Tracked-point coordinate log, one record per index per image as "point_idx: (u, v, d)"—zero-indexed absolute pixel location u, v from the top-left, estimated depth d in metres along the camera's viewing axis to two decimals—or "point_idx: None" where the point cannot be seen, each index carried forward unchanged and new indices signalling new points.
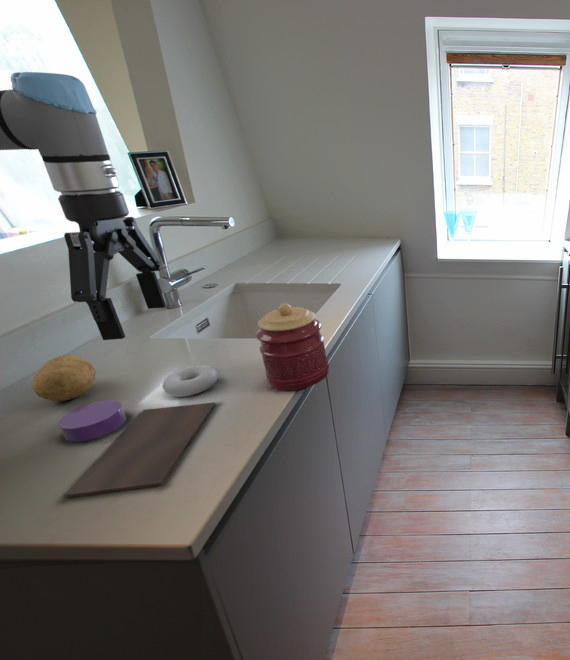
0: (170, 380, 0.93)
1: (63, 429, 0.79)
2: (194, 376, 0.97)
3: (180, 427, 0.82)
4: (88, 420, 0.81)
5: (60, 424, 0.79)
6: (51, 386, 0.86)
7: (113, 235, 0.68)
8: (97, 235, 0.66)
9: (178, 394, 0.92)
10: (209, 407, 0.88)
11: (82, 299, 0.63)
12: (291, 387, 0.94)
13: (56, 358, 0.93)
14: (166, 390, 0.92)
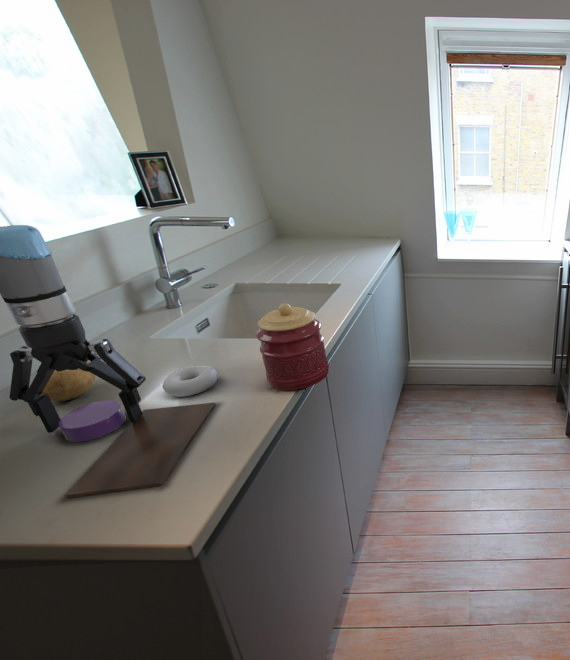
0: (170, 380, 0.93)
1: (63, 429, 0.79)
2: (194, 376, 0.97)
3: (180, 427, 0.82)
4: (88, 420, 0.81)
5: (60, 424, 0.79)
6: (51, 386, 0.86)
7: (45, 359, 0.75)
8: (33, 355, 0.76)
9: (178, 394, 0.92)
10: (209, 407, 0.88)
11: None
12: (291, 387, 0.94)
13: None
14: (166, 390, 0.92)
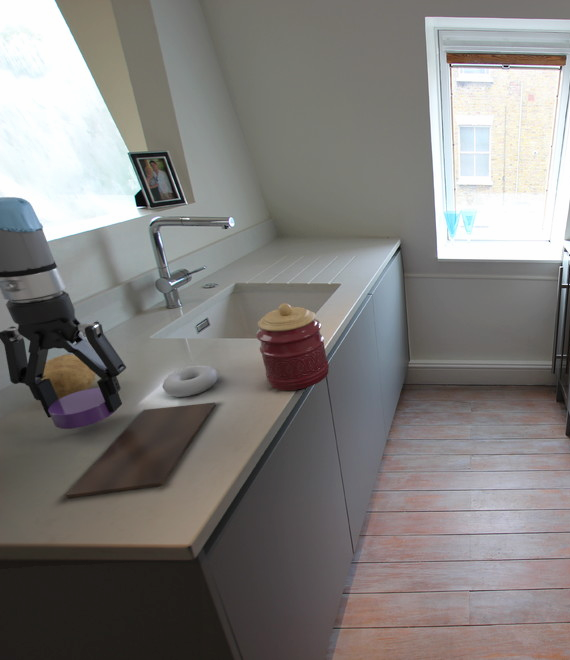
0: (170, 380, 0.93)
1: (53, 415, 0.77)
2: (194, 376, 0.97)
3: (180, 427, 0.82)
4: (78, 407, 0.79)
5: (50, 410, 0.78)
6: None
7: (32, 336, 0.73)
8: (21, 332, 0.74)
9: (178, 394, 0.92)
10: (209, 407, 0.88)
11: None
12: (291, 387, 0.94)
13: (56, 358, 0.93)
14: (166, 390, 0.92)
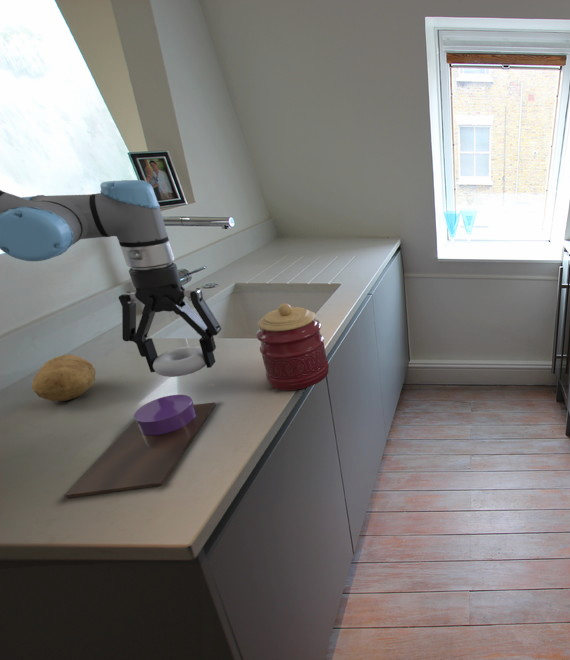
0: (160, 360, 0.90)
1: (139, 422, 0.79)
2: (185, 357, 0.95)
3: None
4: (162, 414, 0.81)
5: (136, 417, 0.80)
6: (51, 386, 0.86)
7: (148, 300, 0.86)
8: (137, 297, 0.86)
9: (168, 374, 0.89)
10: (209, 407, 0.88)
11: None
12: (291, 387, 0.94)
13: (56, 358, 0.93)
14: (156, 370, 0.90)
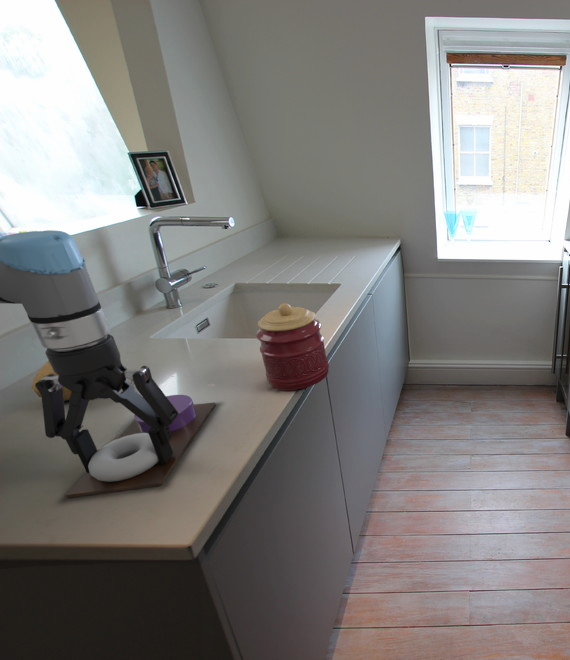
0: (98, 459, 0.69)
1: (139, 422, 0.79)
2: (134, 449, 0.74)
3: None
4: None
5: (136, 417, 0.80)
6: None
7: (75, 387, 0.64)
8: (61, 382, 0.65)
9: (108, 479, 0.68)
10: (209, 407, 0.88)
11: None
12: (291, 387, 0.94)
13: None
14: (92, 473, 0.68)
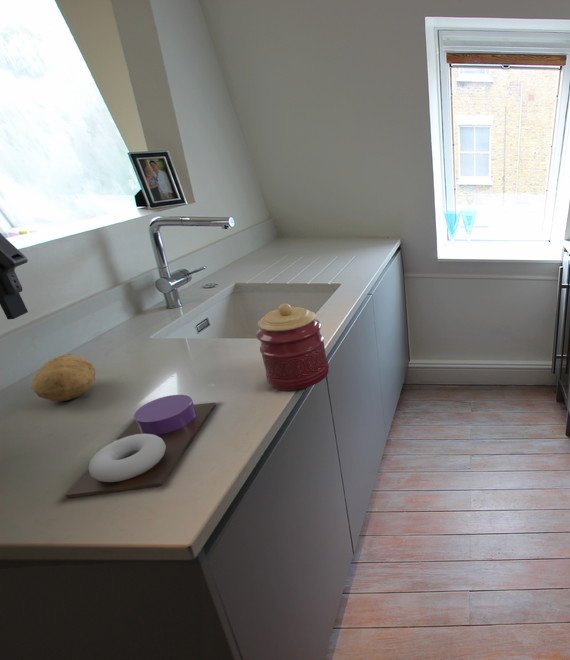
0: (98, 460, 0.69)
1: (139, 422, 0.79)
2: (134, 450, 0.74)
3: None
4: (162, 414, 0.81)
5: (136, 417, 0.80)
6: (51, 386, 0.86)
7: None
8: None
9: (108, 480, 0.68)
10: (209, 407, 0.88)
11: None
12: (291, 387, 0.94)
13: (56, 358, 0.93)
14: (92, 474, 0.68)
